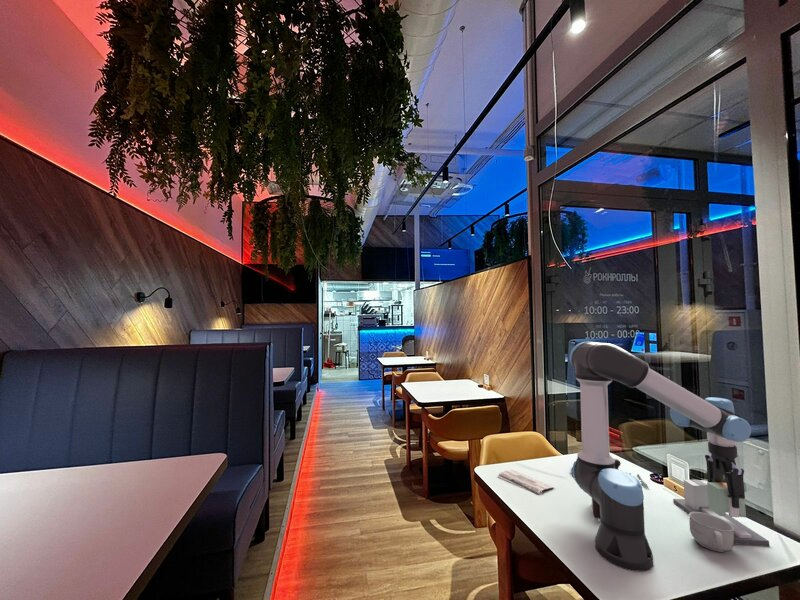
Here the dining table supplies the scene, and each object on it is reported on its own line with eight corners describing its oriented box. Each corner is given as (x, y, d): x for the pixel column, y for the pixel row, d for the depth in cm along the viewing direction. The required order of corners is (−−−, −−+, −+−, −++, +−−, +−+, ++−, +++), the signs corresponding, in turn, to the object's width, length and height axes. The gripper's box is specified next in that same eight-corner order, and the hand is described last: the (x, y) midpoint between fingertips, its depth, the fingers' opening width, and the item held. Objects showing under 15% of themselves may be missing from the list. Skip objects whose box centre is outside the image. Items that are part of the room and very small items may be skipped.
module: (720, 516, 117) (718, 488, 118) (708, 508, 122) (706, 481, 123) (746, 517, 116) (743, 489, 117) (733, 509, 121) (731, 482, 122)
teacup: (690, 531, 118) (688, 507, 119) (733, 544, 111) (732, 518, 112) (690, 552, 107) (689, 525, 108) (739, 567, 100) (737, 539, 101)
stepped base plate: (728, 543, 112) (726, 509, 112) (673, 502, 137) (671, 475, 138) (769, 545, 110) (766, 511, 111) (705, 504, 136) (704, 476, 137)
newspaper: (496, 478, 161) (496, 472, 161) (513, 474, 167) (513, 469, 168) (538, 498, 142) (538, 492, 142) (556, 493, 148) (556, 487, 148)
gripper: (757, 452, 112) (763, 527, 110) (712, 435, 130) (717, 499, 128) (732, 452, 113) (737, 526, 111) (691, 434, 130) (695, 498, 129)
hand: (726, 511), depth 119 cm, fingers closed on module, 5 cm apart
